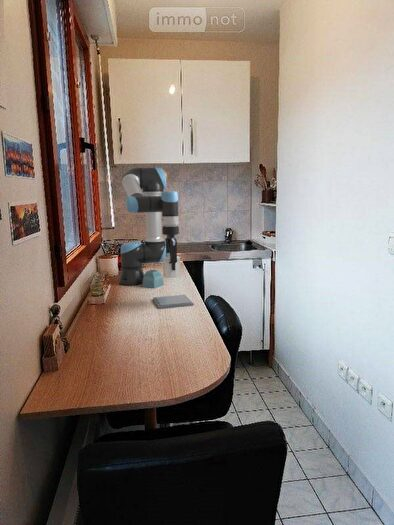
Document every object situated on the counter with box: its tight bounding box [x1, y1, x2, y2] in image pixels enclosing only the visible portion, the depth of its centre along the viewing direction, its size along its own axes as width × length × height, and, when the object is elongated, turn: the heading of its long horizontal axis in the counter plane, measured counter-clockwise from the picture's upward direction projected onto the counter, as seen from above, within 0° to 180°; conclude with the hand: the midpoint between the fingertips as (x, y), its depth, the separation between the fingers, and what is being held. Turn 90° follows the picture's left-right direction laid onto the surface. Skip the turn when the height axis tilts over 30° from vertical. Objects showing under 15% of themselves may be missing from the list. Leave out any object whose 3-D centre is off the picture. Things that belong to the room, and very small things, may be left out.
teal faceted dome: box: [142, 269, 164, 290], centre depth 209 cm, size 9×9×9 cm
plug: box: [162, 253, 181, 279], centre depth 174 cm, size 5×7×11 cm
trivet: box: [152, 294, 194, 310], centre depth 177 cm, size 16×16×1 cm
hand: (171, 275), depth 175 cm, fingers closed on plug, 5 cm apart
